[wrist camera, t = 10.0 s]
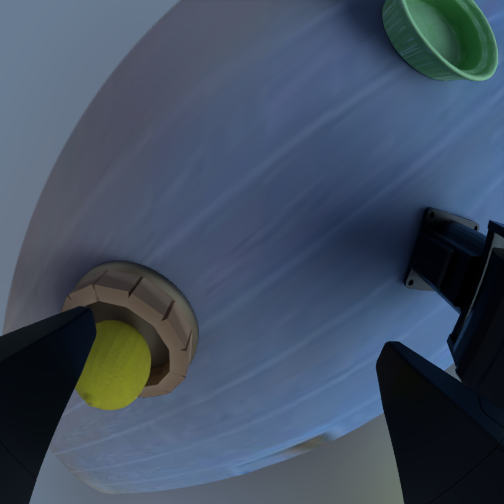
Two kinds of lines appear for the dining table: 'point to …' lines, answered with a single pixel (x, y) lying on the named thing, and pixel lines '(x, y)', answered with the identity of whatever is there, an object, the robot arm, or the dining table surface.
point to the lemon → (115, 366)
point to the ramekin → (442, 38)
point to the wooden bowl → (143, 316)
